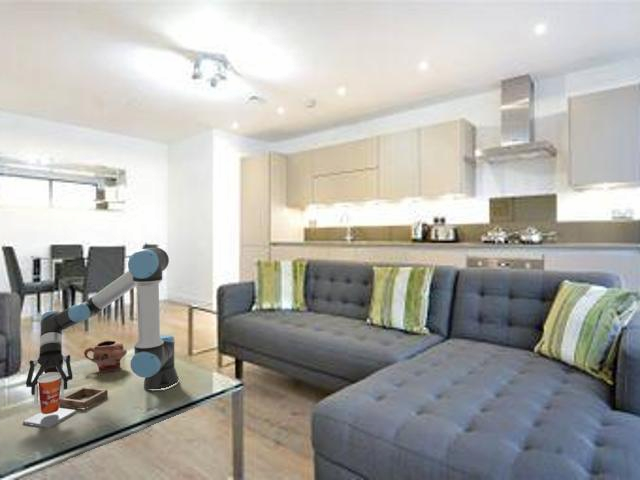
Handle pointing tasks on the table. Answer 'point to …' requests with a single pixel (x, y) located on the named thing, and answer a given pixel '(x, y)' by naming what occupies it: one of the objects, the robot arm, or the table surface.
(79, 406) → the walnut collar
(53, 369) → the coffee mug
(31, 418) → the slate pad
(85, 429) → the table surface
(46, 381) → the paper cup
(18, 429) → the table surface
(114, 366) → the decorative planter
